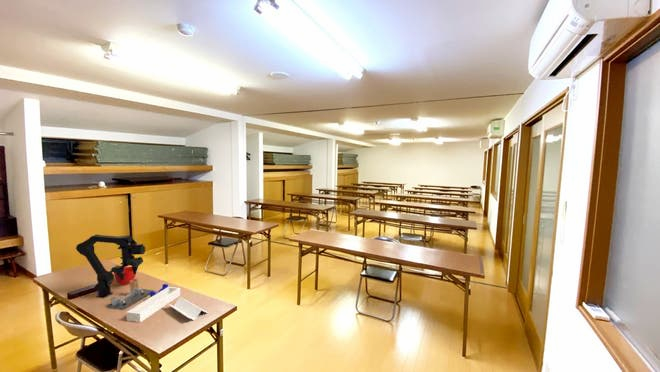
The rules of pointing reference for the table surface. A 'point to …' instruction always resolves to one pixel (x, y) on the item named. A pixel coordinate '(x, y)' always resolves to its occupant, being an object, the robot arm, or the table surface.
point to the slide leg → (134, 286)
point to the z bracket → (187, 308)
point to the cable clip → (159, 290)
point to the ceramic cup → (125, 276)
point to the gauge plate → (128, 299)
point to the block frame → (152, 304)
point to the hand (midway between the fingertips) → (128, 277)
